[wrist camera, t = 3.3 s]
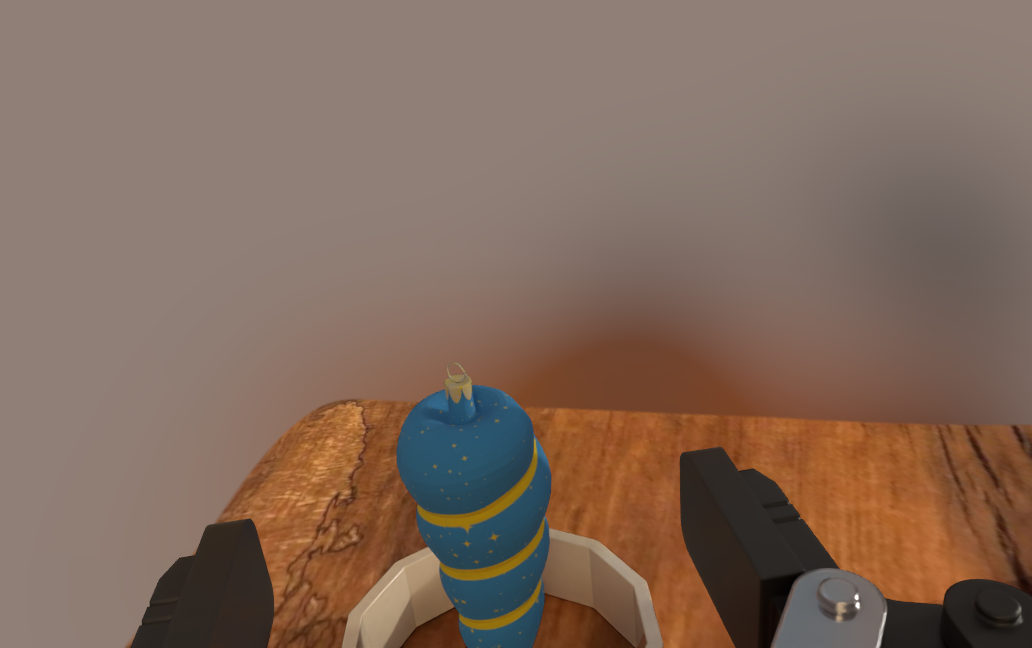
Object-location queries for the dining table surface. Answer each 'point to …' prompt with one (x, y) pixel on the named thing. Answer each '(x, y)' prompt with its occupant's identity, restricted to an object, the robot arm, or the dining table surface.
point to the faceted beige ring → (567, 574)
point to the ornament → (481, 507)
